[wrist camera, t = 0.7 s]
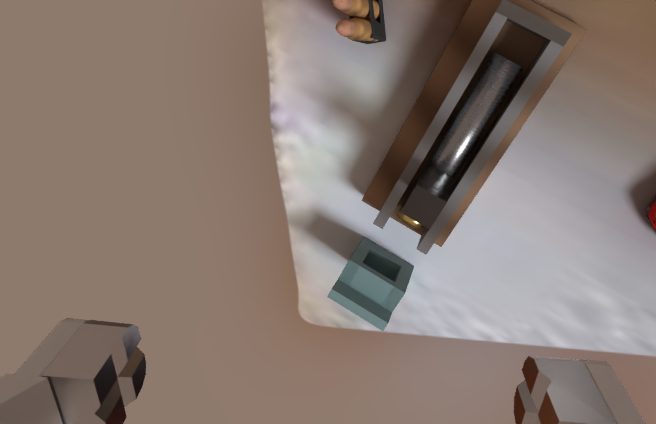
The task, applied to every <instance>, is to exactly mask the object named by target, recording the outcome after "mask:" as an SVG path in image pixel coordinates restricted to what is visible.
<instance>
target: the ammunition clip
mask: <svg viewBox="0 0 656 424" xmlns="http://www.w3.org/2000/svg"><path fill="white" fill-rule="evenodd" d="M332 2H333V4H334V6H335V7H336V8H337V9H339V10H341V11H343V12H344V13H345V14H346V15H349V17H350V19H349V20H342V21H340V22H338V23H337V25H336V30H337V32H338V33H339V34H340V35H342V36H344V37H348V38H349V39H351V40H353V41H357V42H361V43H365V44H370V43H377V42H383V41H386V34H385V24H384V14H383V4H382V0H332ZM354 17H357V18H354ZM359 18H361V19H359Z"/></svg>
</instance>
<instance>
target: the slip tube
mask: <svg viewBox="0 0 656 424" xmlns="http://www.w3.org/2000/svg"><path fill="white" fill-rule="evenodd" d="M522 70H523V67H522V66H520V65H518V64H516V63H514V62H512V61H510V60H508V59H506V58H505V57H503V56H501V55H499V54H497V53H495V52H494V54H493V56H492V57H491V59H490V61H489V62H488V64H487V66H486V67H485V69H484V71H483V72H482V74H481V76H480V77H479V79H478V81H477V82H476V84H475V86H474V87H473V89H472V91H471V92H470V94H469V96H468V97H467V99H466V101H465V102H464V104H463V106H462V107H461V109H460V111H459V112H458V114H457V116H456V117H455V119H454V121H453V122H452V124H451V126H450V127H449V129H448V131H447V132H446V134H445V136H444V137H443V139H442V141H441V142H440V144H439V146H438V147H437V149H436V151H435V152H434V154H433V156H432V157H431V159H430V161H429V162H428V164H427V166H426V167H425V169H424V171H423V172H422V174H421V176H420V177H419V179H418V181H417V182H416V184H415V186H414V187H413V189H412V191H411V192H410V194H409V196H408V197H407V199H406V201H405V202H404V204H403V205H402V206H401V208H400V210H399V211H398V213H397V215H398V217H399V218H400V219H401V220H402V221H403V222H404V223H405V224H407V225H409V226H411V227H413V228H416V229H422V228H423V226H425V227H427V228H428V229H430V228H431V227H432V225H433V224H434V222H435V221H436V219H437V217H438V216H439V214H440V213H441V211H442V210H443V208H444V207H445V205H446V203H447V201H448V198H449V194H450V190H451V187H452V183H453V179H454V177H455V175H456V174H457V172H458V170H459V169H460V167H461V166H462V164H463V163H464V161H465V159H466V158H467V156H468V155H469V153H470V152H471V150H472V148H473V147H474V145H475V144H476V142H477V141H478V139H479V137H480V136H481V134H482V133H483V131H484V130H485V128H486V126H487V125H488V123H489V122H490V120H491V119H492V117H493V115H494V114H495V112H496V111H497V109H498V108H499V106H500V104H501V103H502V101H503V100H504V98H505V97H506V95H507V93H508V92H509V90H510V89H511V87H512V86H513V84H514V82H515V81H516V79H517V78H518V76H519V75H520V73H521V71H522Z"/></svg>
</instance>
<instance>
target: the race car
mask: <svg viewBox="0 0 656 424" xmlns="http://www.w3.org/2000/svg"><path fill="white" fill-rule="evenodd" d="M647 213H648V215H646V216H647V217H648V219H650V222H651V223H652V225H653V227H654V228H655V230H656V197H655V198H654V199H653V200H652V201H651V203H650V204H649V206H648V208H647Z"/></svg>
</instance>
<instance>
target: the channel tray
mask: <svg viewBox="0 0 656 424" xmlns="http://www.w3.org/2000/svg"><path fill="white" fill-rule="evenodd" d="M586 31H587V29H585V28H583V27H581V26H579V25H577V24H575V23H573V22H571V21H569V20H567V19H565V18H563V17H561V16H559V15H558V14H556V13H554V12H552V11H550V10H548V9H546V8H544V7H542V6H540V5H538V4H536V3H534V2H532V1H530V0H472V2H471V4H470V6H469V7H468V9H467V11H466V13H465V15H464V16H463V18H462V20H461V22H460V24H459V25H458V27H457V29H456V31H455V33H454V34H453V36H452V38H451V40H450V42H449V43H448V45H447V47H446V49H445V51H444V52H443V54H442V56H441V58H440V60H439V62H438V63H437V65H436V67H435V69H434V71H433V72H432V74H431V76H430V78H429V80H428V81H427V83H426V85H425V87H424V89H423V90H422V92H421V94H420V96H419V98H418V99H417V101H416V103H415V105H414V107H413V109H412V110H411V112H410V114H409V116H408V118H407V119H406V121H405V123H404V125H403V127H402V128H401V130H400V132H399V134H398V136H397V137H396V139H395V141H394V143H393V145H392V146H391V148H390V150H389V152H388V154H387V156H386V157H385V159H384V161H383V163H382V165H381V166H380V168H379V170H378V172H377V174H376V175H375V177H374V179H373V181H372V183H371V184H370V186H369V188H368V190H367V192H366V193H365V195H364V197H363V199H362V201H363V202H365V203H367V204H369V205H370V206H372V207H374V208H375V209H377V210H379V211H380V212H379V214H378V216H377V217H376V219H375V221H374V223H373V224H375V225H377V226H378V227H380V228H382V229H383V227H384V225H385V224H386V222H387V220H388V219H389V217H391V218H393V219H394V220H396V221H398V222H399V223H401V224H403V225H405V226H406V227H408V228H410V229H411V230H413V231H415V232H417V233H418V234H420V235H421V238H420V241H419V244H418V246H417V250H419V251H421V252H423V253H424V254H427V253H428V251H429V250H430V248H431V247H432V245H433V244H434V243H435V244H437V245H439V246H441V247H442V245H443V244H444V242H445V241H446V239H447V238H448V236H449V235H450V233H451V232H452V230H453V229H454V227H455V226H456V224H457V223H458V221H459V220H460V218H461V217H462V215H463V214H464V212H465V211H466V209H467V208H468V206H469V205H470V204H471V202H472V201H473V199H474V198H475V196H476V195H477V193H478V192H479V190H480V189H481V187H482V186H483V184H484V183H485V181H486V180H487V178H488V177H489V175H490V174H491V172H492V171H493V169H494V168H495V166H496V165H497V163H498V162H499V160H500V159H501V157H502V156H503V154H504V153H505V151H506V150H507V148H508V147H509V145H510V144H511V142H512V141H513V140H514V138H515V137H516V135H517V134H518V132H519V131H520V129H521V128H522V126H523V125H524V123H525V122H526V120H527V119H528V117H529V116H530V114H531V113H532V111H533V110H534V108H535V107H536V105H537V104H538V102H539V101H540V99H541V98H542V96H543V95H544V93H545V92H546V90H547V89H548V87H549V86H550V84H551V83H552V81H553V80H554V79H555V77H556V76H557V74H558V73H559V71H560V70H561V68H562V67H563V65H564V64H565V62H566V61H567V59H568V58H569V56H570V55H571V53H572V52H573V50H574V49H575V47H576V46H577V44H578V43H579V41H580V40H581V38H582V37H583V35H584V34H585V32H586ZM494 52H495V53H497V54H499V55H501V56H503V57H505V58H506V59H508V60H510V61H512V62H514V63H516V64H518V65H520V66H522V67H523V70H522V71H521V73H520V75H519V76H518V78H517V79H516V81H515V82H514V84H513V86H512V87H511V89H510V90H509V92H508V93H507V95H506V97H505V98H504V100H503V101H502V103H501V104H500V106H499V108H498V109H497V111H496V112H495V114H494V115H493V117H492V119H491V120H490V122H489V123H488V125H487V126H486V128H485V130H484V131H483V133H482V134H481V136H480V137H479V139H478V141H477V142H476V144H475V145H474V147H473V148H472V150H471V152H470V153H469V155H468V156H467V158H466V159H465V161H464V163H463V164H462V166H461V167H460V169H459V170H458V172H457V174H456V175H455V177H454V179H453V183H452V187H451V190H450V194H449V198H448V201H447V203H446V205H445V207H444V208H443V210H442V211H441V213H440V214H439V216H438V217H437V219H436V221H435V222H434V224H433V225H432V227H431V228H430V229H428V228H427V227H425V226H423V228H422V229H416V228H413V227H411V226H409V225H407V224H405V223H404V222H403V221H402V220H401V219H400V218H399V217H398V215H397V213H398V211H399V210H400V208H401V206H402V205H403V204H404V202H405V201H406V199H407V197H408V196H409V194H410V192H411V191H412V189H413V187H414V186H415V184H416V182H417V181H418V179H419V177H420V176H421V174H422V172H423V171H424V169H425V167H426V166H427V164H428V162H429V161H430V159H431V157H432V156H433V154H434V152H435V151H436V149H437V147H438V146H439V144H440V142H441V141H442V139H443V137H444V136H445V134H446V132H447V131H448V129H449V127H450V126H451V124H452V122H453V121H454V119H455V117H456V116H457V114H458V112H459V111H460V109H461V107H462V106H463V104H464V102H465V101H466V99H467V97H468V96H469V94H470V92H471V91H472V89H473V87H474V86H475V84H476V82H477V81H478V79H479V77H480V76H481V74H482V72H483V71H484V69H485V67H486V66H487V64H488V62H489V61H490V59H491V57H492V56H493V54H494Z"/></svg>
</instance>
